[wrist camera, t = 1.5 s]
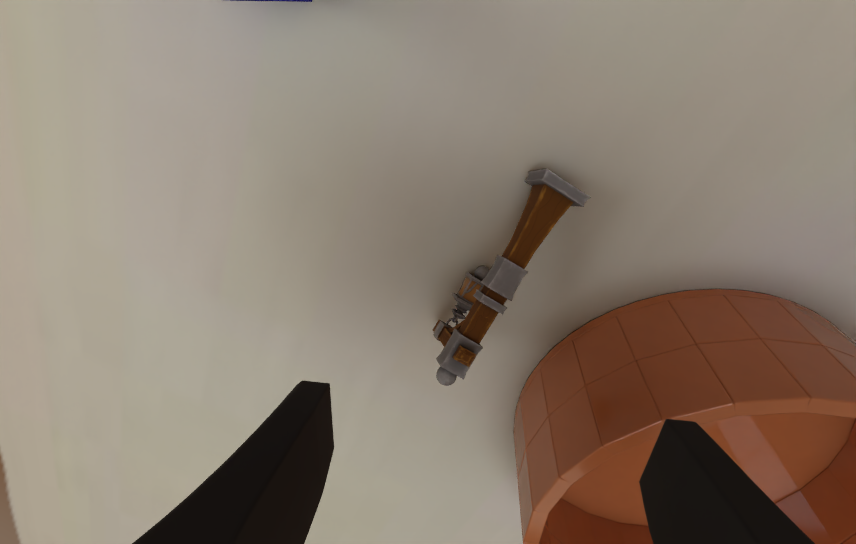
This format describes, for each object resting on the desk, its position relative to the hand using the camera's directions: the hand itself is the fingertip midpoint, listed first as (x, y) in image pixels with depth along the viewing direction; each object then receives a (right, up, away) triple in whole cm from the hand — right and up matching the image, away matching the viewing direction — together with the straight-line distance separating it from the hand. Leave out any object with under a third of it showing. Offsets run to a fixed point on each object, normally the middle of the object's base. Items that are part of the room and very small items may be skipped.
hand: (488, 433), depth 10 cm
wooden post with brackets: (+2, +4, +8) cm, 10 cm away
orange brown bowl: (+10, -4, +12) cm, 16 cm away
